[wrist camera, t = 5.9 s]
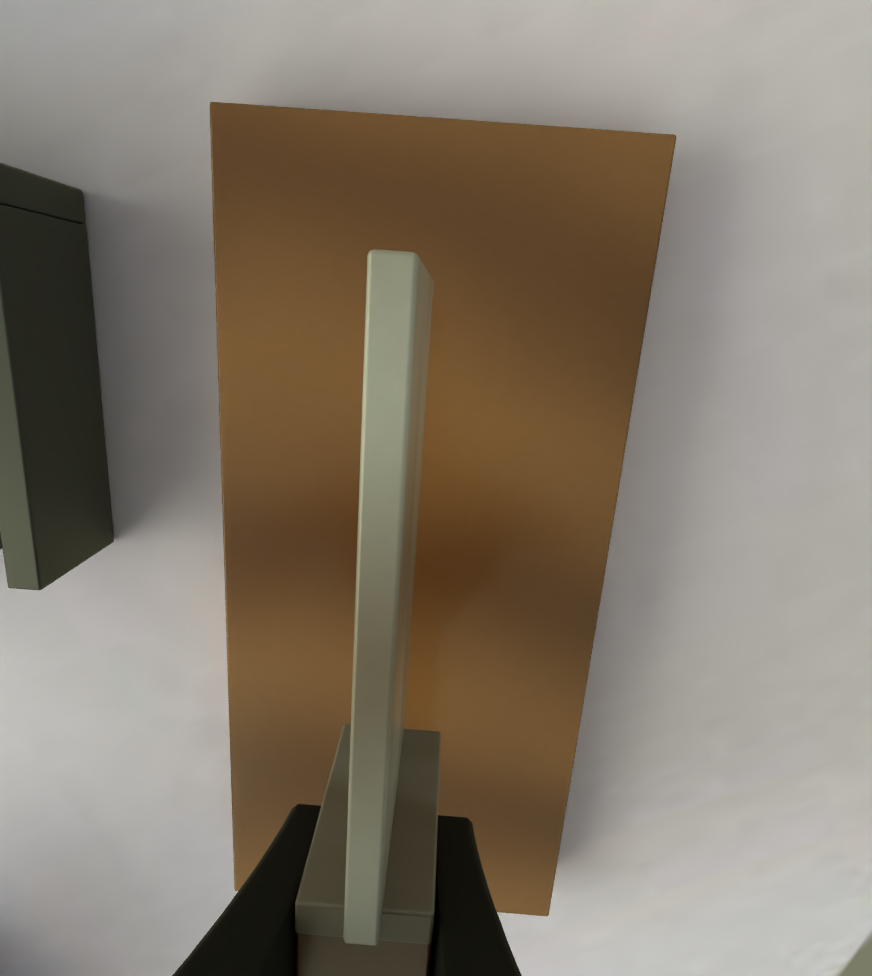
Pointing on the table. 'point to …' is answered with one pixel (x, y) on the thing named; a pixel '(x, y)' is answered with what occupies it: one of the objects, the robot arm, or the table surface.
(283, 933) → the robot arm
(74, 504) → the dish rack
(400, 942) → the knife
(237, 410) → the cutting board
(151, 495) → the table surface
